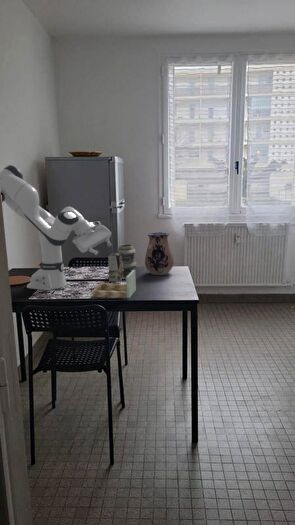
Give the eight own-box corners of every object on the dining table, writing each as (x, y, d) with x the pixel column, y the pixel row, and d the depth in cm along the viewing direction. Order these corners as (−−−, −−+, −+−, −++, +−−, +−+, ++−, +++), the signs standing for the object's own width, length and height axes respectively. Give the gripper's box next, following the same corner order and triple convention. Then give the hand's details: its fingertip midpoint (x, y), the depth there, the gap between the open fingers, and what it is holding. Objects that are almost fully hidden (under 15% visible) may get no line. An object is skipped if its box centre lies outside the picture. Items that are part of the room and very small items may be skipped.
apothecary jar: (115, 275, 250) (113, 246, 246) (121, 270, 262) (120, 243, 257) (133, 276, 247) (132, 247, 243) (139, 271, 258) (138, 243, 254)
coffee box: (119, 283, 234) (118, 255, 230) (109, 282, 235) (107, 255, 231) (123, 278, 242) (122, 252, 239) (113, 278, 244) (112, 252, 240)
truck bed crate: (92, 298, 208) (92, 291, 207) (101, 290, 221) (100, 283, 220) (126, 299, 204) (125, 292, 203) (133, 291, 217) (132, 284, 216)
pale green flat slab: (127, 299, 204) (126, 277, 201) (133, 290, 217) (133, 269, 214) (129, 299, 204) (128, 277, 201) (136, 290, 217) (135, 270, 214)
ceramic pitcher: (145, 277, 243) (144, 236, 237) (145, 269, 263) (144, 231, 257) (174, 277, 242) (173, 236, 237) (172, 268, 263) (172, 230, 257)
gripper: (71, 235, 198) (90, 254, 195) (101, 220, 211) (119, 237, 208) (69, 243, 202) (87, 262, 199) (98, 227, 215) (116, 245, 212)
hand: (104, 249), depth 203 cm, fingers open, 8 cm apart
